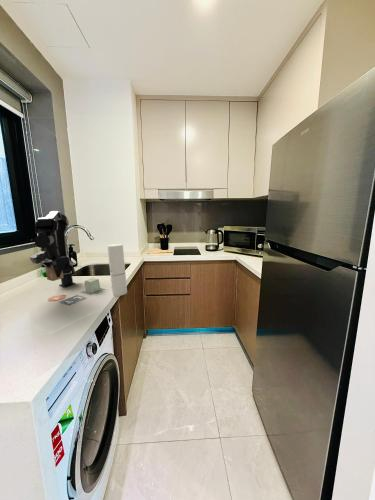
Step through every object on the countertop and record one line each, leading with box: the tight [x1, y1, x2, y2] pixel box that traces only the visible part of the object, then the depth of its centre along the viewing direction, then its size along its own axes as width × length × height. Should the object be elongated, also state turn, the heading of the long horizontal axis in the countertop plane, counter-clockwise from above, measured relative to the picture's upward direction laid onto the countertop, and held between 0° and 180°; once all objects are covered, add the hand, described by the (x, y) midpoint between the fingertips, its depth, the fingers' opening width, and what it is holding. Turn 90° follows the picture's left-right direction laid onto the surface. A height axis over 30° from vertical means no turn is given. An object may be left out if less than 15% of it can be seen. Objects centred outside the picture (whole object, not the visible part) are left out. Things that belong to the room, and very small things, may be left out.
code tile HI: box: [80, 287, 106, 296], centre depth 108 cm, size 9×9×1 cm
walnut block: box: [44, 266, 64, 282], centre depth 98 cm, size 5×5×6 cm
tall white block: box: [106, 243, 128, 297], centre depth 101 cm, size 7×7×25 cm
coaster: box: [47, 294, 68, 302], centre depth 100 cm, size 8×8×1 cm
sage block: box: [83, 277, 101, 293], centre depth 107 cm, size 5×5×6 cm
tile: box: [58, 294, 88, 306], centre depth 97 cm, size 9×9×1 cm
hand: (55, 276), depth 98 cm, fingers closed on walnut block, 5 cm apart
